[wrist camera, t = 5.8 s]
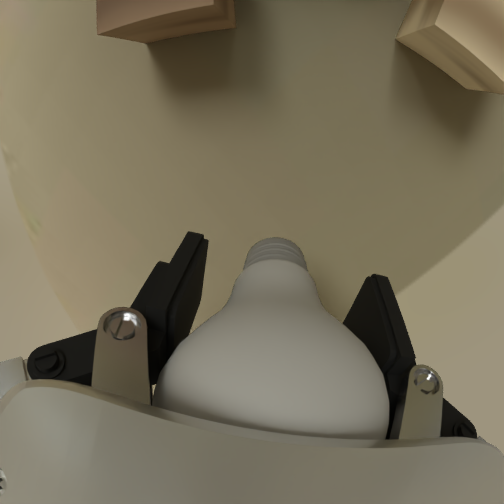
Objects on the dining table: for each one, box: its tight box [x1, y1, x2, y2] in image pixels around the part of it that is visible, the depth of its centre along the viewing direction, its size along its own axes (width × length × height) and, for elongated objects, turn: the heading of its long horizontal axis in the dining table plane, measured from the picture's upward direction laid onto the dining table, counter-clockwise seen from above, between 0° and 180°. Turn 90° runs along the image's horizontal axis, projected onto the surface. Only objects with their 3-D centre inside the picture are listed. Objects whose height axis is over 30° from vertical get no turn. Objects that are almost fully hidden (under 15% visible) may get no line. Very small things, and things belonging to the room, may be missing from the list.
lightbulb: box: [152, 237, 389, 440], centre depth 9 cm, size 6×6×11 cm
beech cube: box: [395, 0, 504, 94], centre depth 8 cm, size 5×5×5 cm
